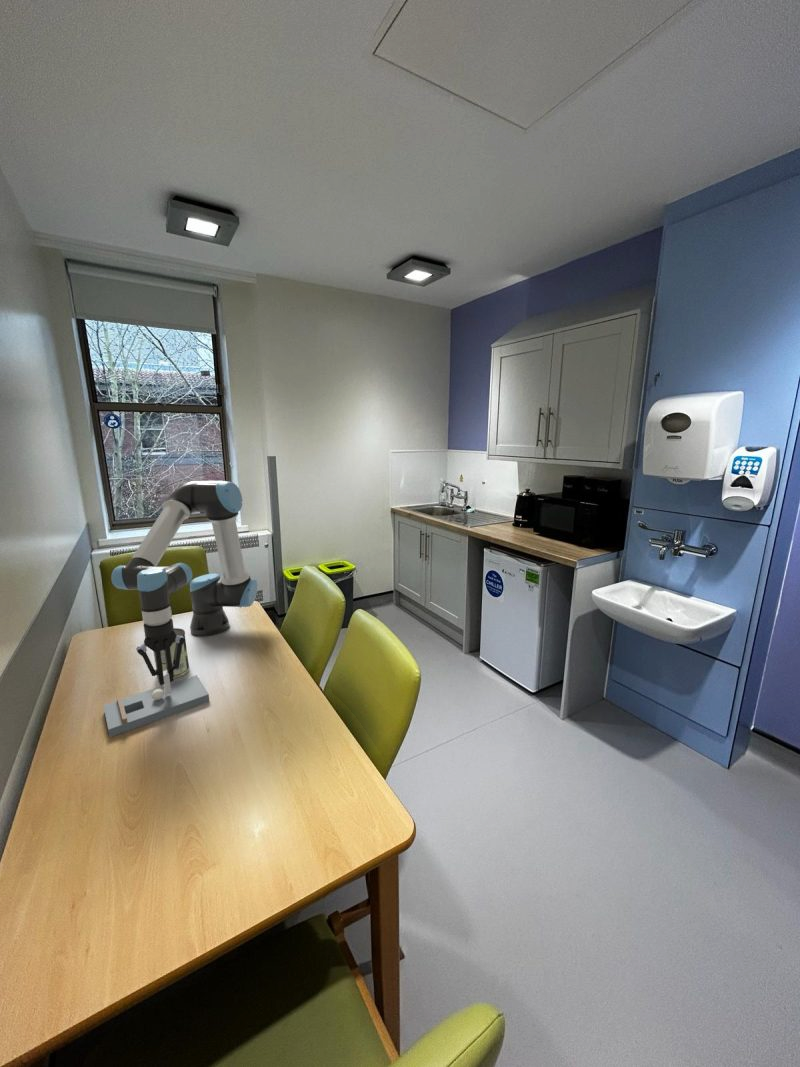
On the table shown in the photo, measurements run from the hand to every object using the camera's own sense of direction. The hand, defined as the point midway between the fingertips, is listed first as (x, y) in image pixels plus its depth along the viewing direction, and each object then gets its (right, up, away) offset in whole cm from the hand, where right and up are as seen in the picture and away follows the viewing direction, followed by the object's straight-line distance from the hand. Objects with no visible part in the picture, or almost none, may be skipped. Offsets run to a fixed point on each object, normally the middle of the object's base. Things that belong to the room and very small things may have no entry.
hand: (167, 691), depth 132 cm
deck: (-3, -4, -1) cm, 5 cm away
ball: (-2, 0, -2) cm, 3 cm away
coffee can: (-8, 0, +18) cm, 20 cm away
